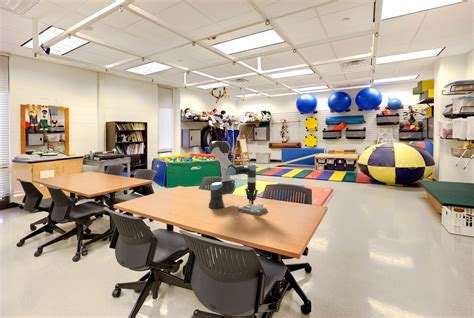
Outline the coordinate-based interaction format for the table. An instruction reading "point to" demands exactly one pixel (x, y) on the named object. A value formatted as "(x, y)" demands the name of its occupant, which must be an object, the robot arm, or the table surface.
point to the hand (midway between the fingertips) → (251, 207)
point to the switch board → (248, 210)
